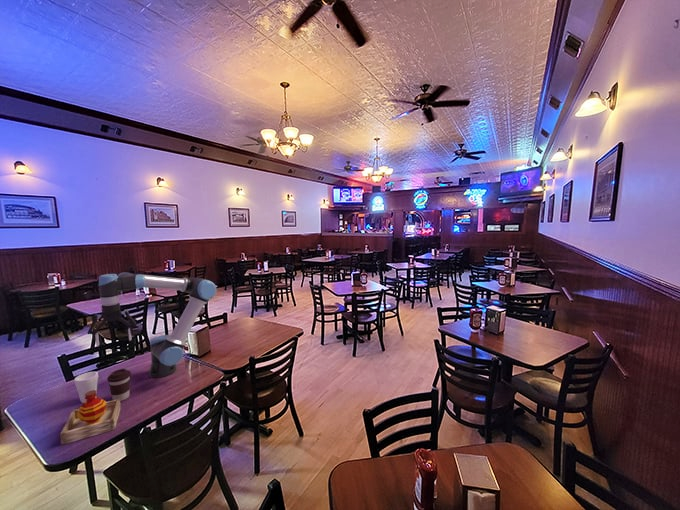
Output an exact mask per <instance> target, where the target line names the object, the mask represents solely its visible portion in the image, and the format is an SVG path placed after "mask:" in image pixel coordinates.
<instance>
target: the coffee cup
mask: <svg viewBox="0 0 680 510" xmlns="http://www.w3.org/2000/svg"><path fill="white" fill-rule="evenodd" d="M131 372H132V371H131V370H128V369H126V368H120V369H117V370H114V371H112V372H111V373H110V375H108V376H107V378H106V379H107V382H108V383H109V384H108V385H109V390H110V395H111V399H112V401H113V400H116V399H119V398H120V402H122V401H125V400H127V399H128V398H129V397H130V395H131V394H130V390H131V374H132V373H131Z"/></svg>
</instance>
